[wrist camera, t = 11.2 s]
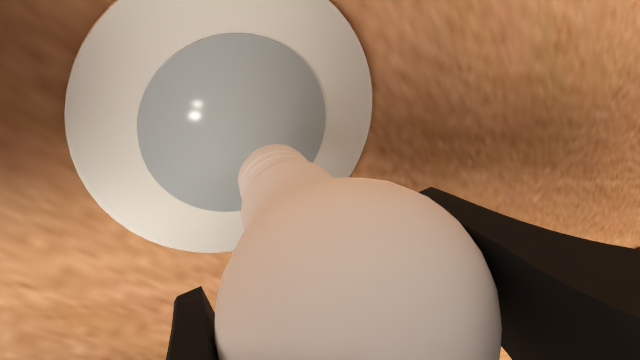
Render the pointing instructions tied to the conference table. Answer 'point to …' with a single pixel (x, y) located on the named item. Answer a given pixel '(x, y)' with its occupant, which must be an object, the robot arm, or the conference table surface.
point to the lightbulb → (349, 271)
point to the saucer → (209, 107)
